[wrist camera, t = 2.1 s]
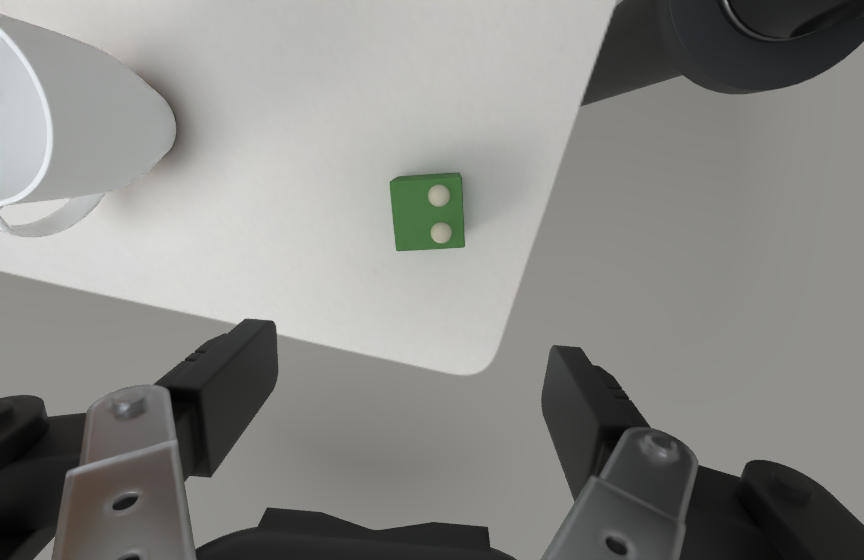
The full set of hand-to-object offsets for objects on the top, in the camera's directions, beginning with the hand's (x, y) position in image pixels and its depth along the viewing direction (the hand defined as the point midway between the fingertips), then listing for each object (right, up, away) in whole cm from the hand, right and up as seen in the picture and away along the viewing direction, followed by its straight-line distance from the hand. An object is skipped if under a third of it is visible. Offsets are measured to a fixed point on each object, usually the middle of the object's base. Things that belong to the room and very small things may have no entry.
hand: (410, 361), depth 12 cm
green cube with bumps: (+1, +8, +19) cm, 20 cm away
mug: (-21, +13, +18) cm, 30 cm away
